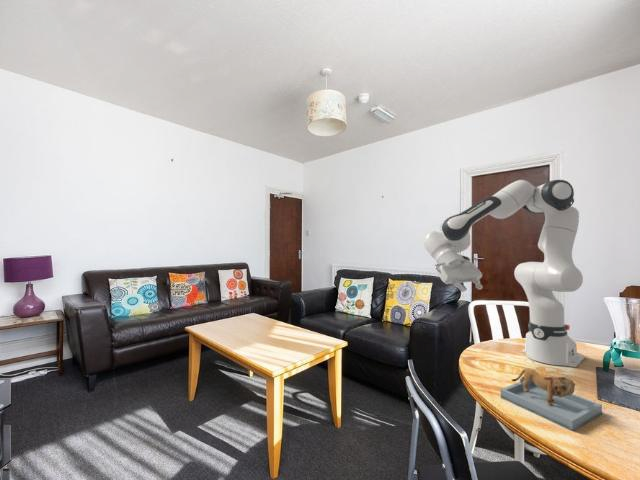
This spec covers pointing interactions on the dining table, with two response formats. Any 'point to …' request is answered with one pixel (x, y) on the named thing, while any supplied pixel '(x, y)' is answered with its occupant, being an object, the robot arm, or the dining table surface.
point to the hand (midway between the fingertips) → (472, 289)
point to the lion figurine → (547, 384)
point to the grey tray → (563, 410)
